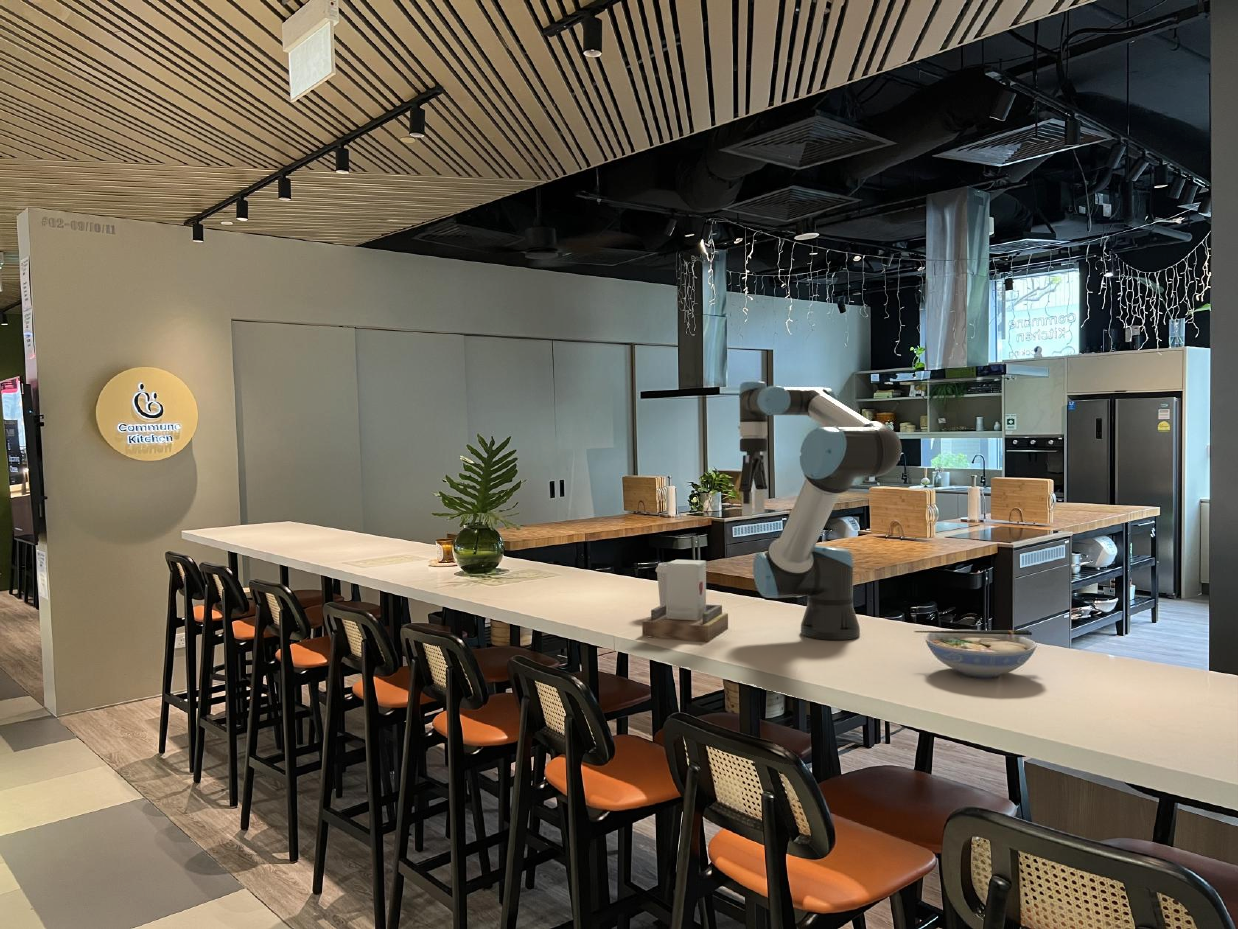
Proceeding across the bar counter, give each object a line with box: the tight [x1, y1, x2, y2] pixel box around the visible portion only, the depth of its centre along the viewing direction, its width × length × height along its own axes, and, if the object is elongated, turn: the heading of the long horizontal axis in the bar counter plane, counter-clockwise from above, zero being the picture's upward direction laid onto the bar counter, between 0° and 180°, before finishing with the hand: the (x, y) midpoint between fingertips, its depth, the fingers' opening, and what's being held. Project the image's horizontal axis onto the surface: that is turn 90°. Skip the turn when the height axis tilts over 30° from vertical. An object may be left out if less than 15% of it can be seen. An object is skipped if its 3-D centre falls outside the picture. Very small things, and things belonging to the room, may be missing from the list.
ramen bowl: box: [914, 629, 1038, 679], centre depth 195 cm, size 25×23×8 cm
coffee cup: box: [655, 561, 670, 606], centre depth 265 cm, size 10×10×15 cm
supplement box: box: [666, 559, 707, 621], centre depth 240 cm, size 9×9×15 cm
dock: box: [641, 603, 729, 643], centre depth 240 cm, size 18×18×6 cm
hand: (753, 514), depth 250 cm, fingers open, 13 cm apart
